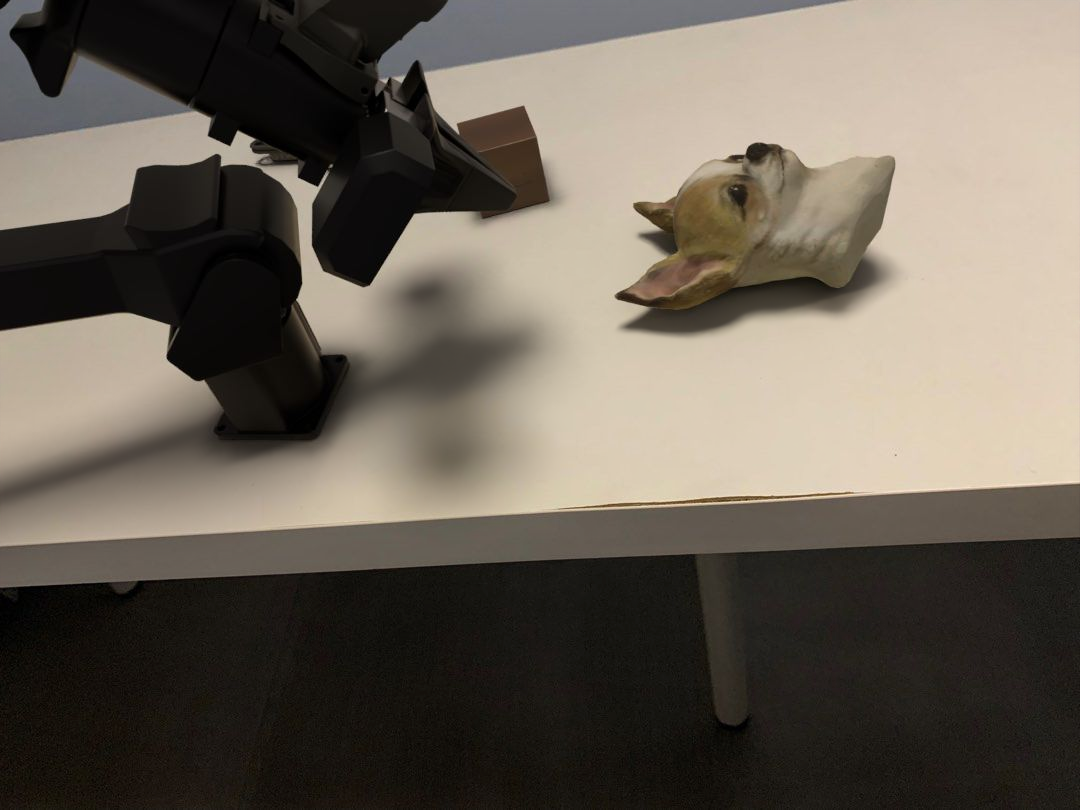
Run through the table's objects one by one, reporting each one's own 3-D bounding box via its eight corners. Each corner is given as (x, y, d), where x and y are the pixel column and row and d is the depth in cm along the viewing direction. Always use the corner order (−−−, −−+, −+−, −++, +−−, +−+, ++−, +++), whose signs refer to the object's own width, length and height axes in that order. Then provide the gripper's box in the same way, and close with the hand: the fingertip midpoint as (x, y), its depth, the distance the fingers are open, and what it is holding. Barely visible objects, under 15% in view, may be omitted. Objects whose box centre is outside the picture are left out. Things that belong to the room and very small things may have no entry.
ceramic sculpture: (908, 186, 39) (592, 217, 44) (898, 328, 45) (621, 342, 50) (888, 79, 46) (619, 116, 51) (882, 214, 52) (641, 236, 57)
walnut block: (549, 200, 60) (536, 136, 57) (482, 218, 60) (464, 155, 57) (536, 167, 64) (524, 105, 60) (473, 184, 64) (456, 123, 60)
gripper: (283, -72, 26) (659, 158, 34) (295, -183, 39) (563, 0, 47) (160, 213, 31) (509, 354, 39) (207, 30, 45) (460, 163, 53)
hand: (512, 199), depth 44 cm, fingers closed
